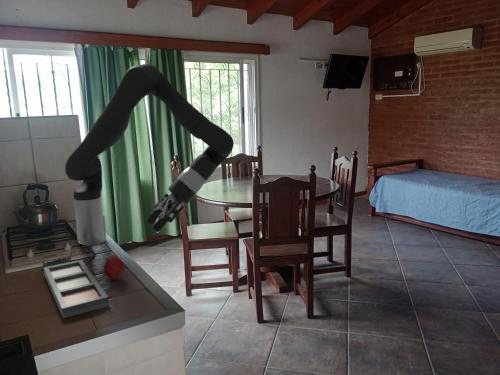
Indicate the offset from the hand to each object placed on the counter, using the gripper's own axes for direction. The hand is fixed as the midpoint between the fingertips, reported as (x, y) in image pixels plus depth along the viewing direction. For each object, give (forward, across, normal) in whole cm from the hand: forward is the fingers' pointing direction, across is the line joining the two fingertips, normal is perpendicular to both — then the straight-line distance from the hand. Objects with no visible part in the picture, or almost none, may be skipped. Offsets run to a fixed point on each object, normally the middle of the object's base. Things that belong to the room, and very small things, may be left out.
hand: (151, 226), depth 122 cm
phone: (+30, -24, -8) cm, 39 cm away
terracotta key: (+25, +11, -6) cm, 28 cm away
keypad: (+27, +2, -6) cm, 27 cm away
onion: (+19, 0, +2) cm, 19 cm away
